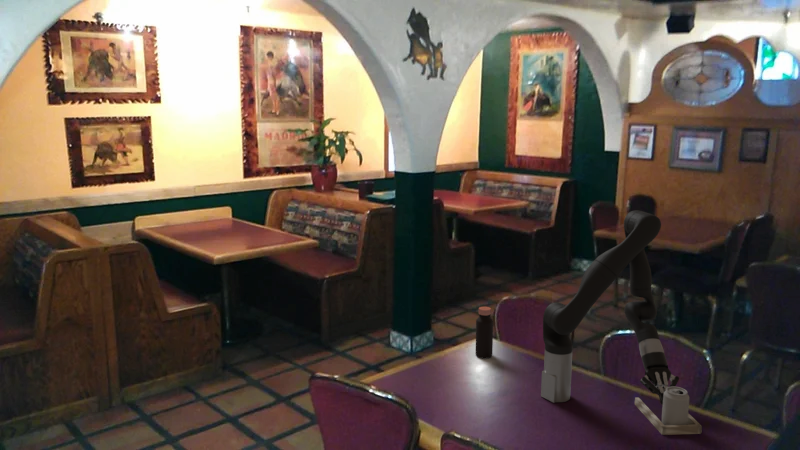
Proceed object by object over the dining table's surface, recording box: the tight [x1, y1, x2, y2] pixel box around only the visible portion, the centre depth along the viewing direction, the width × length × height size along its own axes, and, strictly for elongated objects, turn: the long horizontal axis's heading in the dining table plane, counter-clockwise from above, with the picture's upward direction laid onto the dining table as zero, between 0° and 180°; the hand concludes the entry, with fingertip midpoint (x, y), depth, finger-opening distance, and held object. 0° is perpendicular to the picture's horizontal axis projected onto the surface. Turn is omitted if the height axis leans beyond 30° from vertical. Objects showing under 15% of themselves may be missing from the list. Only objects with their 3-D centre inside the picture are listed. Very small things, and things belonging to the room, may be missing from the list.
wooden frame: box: [634, 397, 703, 436], centre depth 205 cm, size 20×12×2 cm, turn 3°
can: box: [661, 386, 690, 425], centre depth 200 cm, size 8×8×12 cm
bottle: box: [475, 306, 494, 359], centre depth 255 cm, size 7×7×20 cm
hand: (666, 405), depth 205 cm, fingers closed
